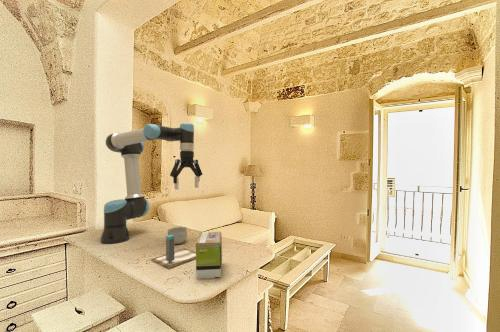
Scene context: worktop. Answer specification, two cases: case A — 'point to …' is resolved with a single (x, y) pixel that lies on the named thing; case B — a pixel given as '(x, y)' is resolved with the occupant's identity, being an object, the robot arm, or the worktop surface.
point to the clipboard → (176, 258)
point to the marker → (170, 248)
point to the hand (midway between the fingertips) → (187, 188)
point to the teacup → (178, 234)
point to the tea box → (209, 255)
